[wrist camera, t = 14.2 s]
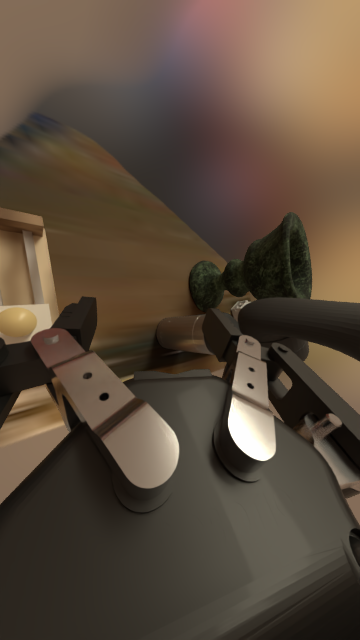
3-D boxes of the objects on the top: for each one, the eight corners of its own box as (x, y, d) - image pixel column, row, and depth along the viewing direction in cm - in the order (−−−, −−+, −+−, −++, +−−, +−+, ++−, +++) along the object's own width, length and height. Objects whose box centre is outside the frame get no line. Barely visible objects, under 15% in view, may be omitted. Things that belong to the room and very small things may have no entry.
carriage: (47, 305, 29) (55, 291, 19) (53, 339, 29) (63, 343, 19) (-14, 308, 24) (-46, 293, 14) (-6, 349, 24) (-32, 361, 15)
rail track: (44, 232, 31) (45, 217, 27) (64, 352, 32) (68, 355, 28) (-43, 217, 24) (-58, 194, 20) (-14, 368, 26) (-22, 376, 22)
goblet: (175, 296, 52) (283, 270, 30) (195, 243, 60) (293, 191, 37) (214, 326, 65) (310, 323, 42) (226, 279, 72) (313, 256, 50)
